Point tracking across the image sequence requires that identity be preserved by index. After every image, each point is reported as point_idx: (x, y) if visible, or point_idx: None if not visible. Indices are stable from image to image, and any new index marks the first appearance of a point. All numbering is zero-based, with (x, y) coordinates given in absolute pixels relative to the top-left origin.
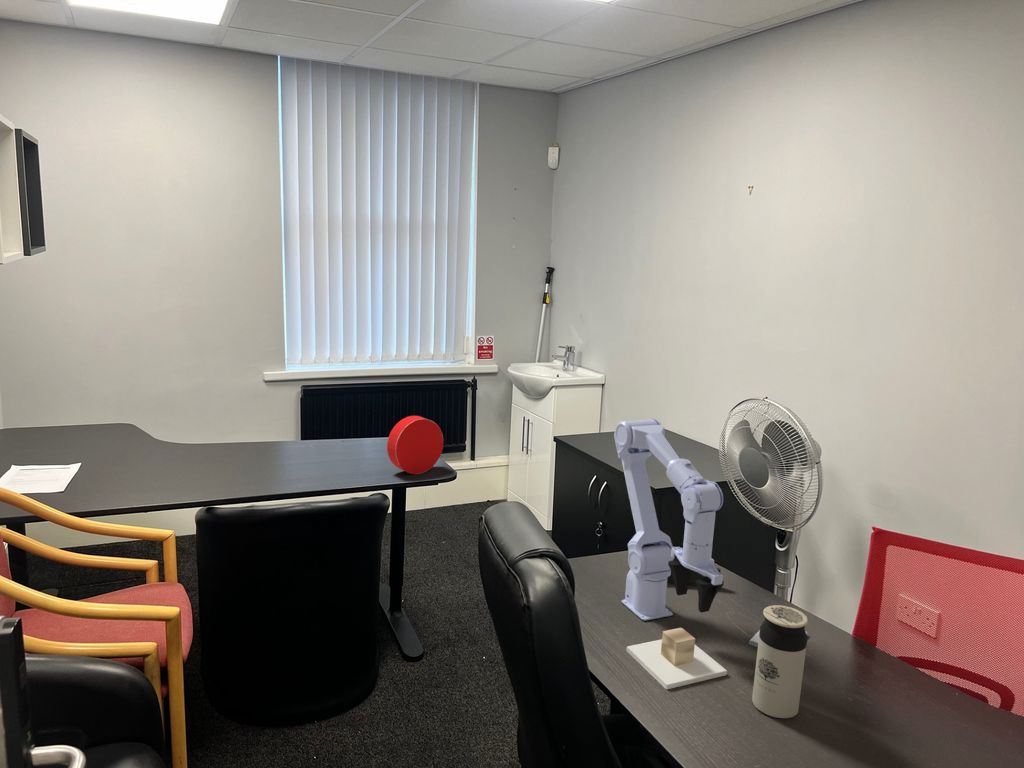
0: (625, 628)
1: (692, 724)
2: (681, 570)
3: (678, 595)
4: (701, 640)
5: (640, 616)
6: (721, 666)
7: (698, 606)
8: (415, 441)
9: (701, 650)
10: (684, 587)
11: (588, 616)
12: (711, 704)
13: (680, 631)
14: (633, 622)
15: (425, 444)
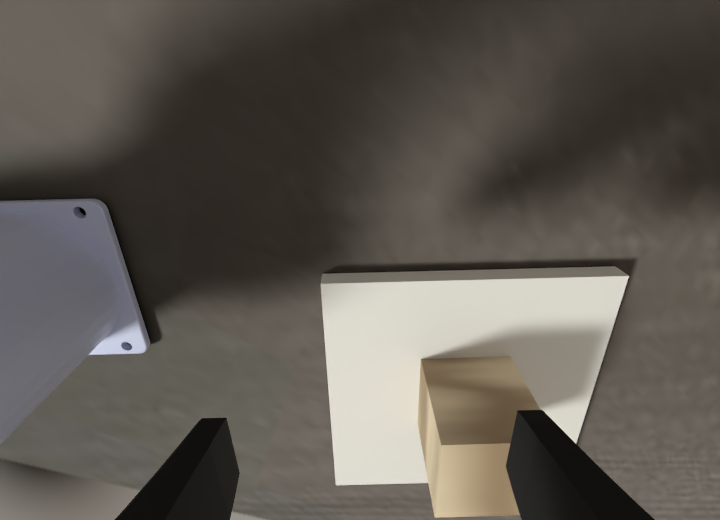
0: (196, 418)
1: (706, 476)
2: None
3: (237, 470)
4: (355, 200)
5: (121, 352)
6: (596, 278)
7: (521, 513)
8: None
9: (461, 283)
10: (203, 496)
11: (99, 479)
12: (688, 399)
13: (471, 464)
14: (154, 378)
15: None
